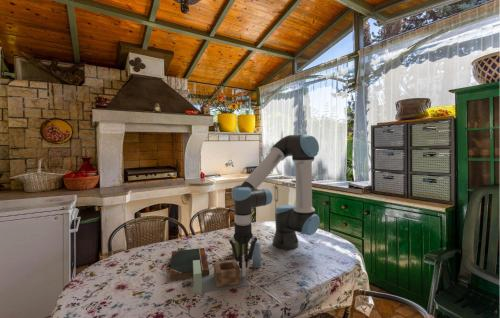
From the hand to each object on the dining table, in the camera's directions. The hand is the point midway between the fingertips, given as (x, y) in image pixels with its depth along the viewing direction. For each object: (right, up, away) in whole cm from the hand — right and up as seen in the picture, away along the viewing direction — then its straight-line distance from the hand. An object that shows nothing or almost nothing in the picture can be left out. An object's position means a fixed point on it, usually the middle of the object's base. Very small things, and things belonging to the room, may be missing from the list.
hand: (243, 274), depth 111 cm
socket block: (-7, -2, -2) cm, 8 cm away
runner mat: (-9, -2, -2) cm, 9 cm away
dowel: (+6, -1, +11) cm, 13 cm away
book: (-27, -2, +12) cm, 30 cm away
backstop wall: (-20, -2, -5) cm, 20 cm away
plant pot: (-3, 0, +24) cm, 24 cm away
